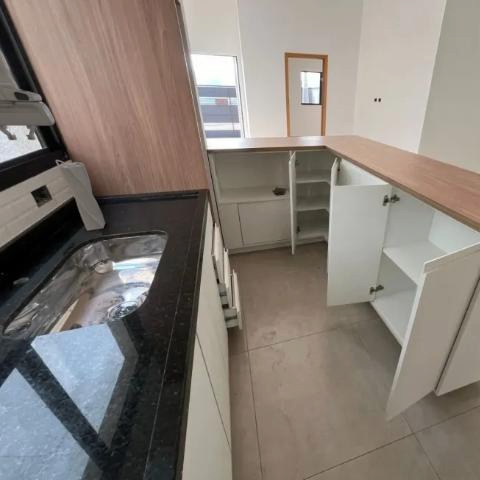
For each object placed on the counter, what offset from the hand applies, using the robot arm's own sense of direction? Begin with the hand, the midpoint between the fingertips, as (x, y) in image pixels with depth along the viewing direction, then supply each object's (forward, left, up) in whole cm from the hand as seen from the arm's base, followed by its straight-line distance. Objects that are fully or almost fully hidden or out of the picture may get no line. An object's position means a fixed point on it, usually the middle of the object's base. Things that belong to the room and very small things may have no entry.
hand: (22, 139), depth 91 cm
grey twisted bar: (+10, 0, -35) cm, 37 cm away
